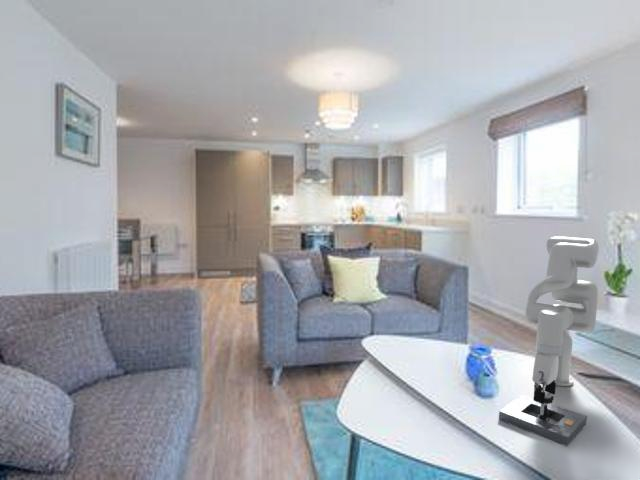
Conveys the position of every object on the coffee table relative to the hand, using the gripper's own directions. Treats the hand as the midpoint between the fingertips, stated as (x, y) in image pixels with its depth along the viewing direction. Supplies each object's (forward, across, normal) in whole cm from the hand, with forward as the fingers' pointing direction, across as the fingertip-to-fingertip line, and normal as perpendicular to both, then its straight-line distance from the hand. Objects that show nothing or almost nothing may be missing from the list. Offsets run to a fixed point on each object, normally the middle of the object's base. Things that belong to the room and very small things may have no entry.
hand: (544, 397), depth 146 cm
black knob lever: (+9, +1, 0) cm, 9 cm away
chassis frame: (+8, +1, 0) cm, 9 cm away
